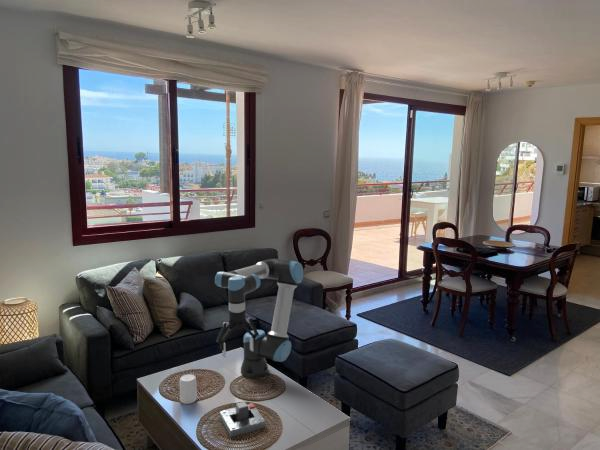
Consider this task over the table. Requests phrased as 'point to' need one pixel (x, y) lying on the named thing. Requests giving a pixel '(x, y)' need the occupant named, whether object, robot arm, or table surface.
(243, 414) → the plug
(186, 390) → the white upside-down cup
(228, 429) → the socket
